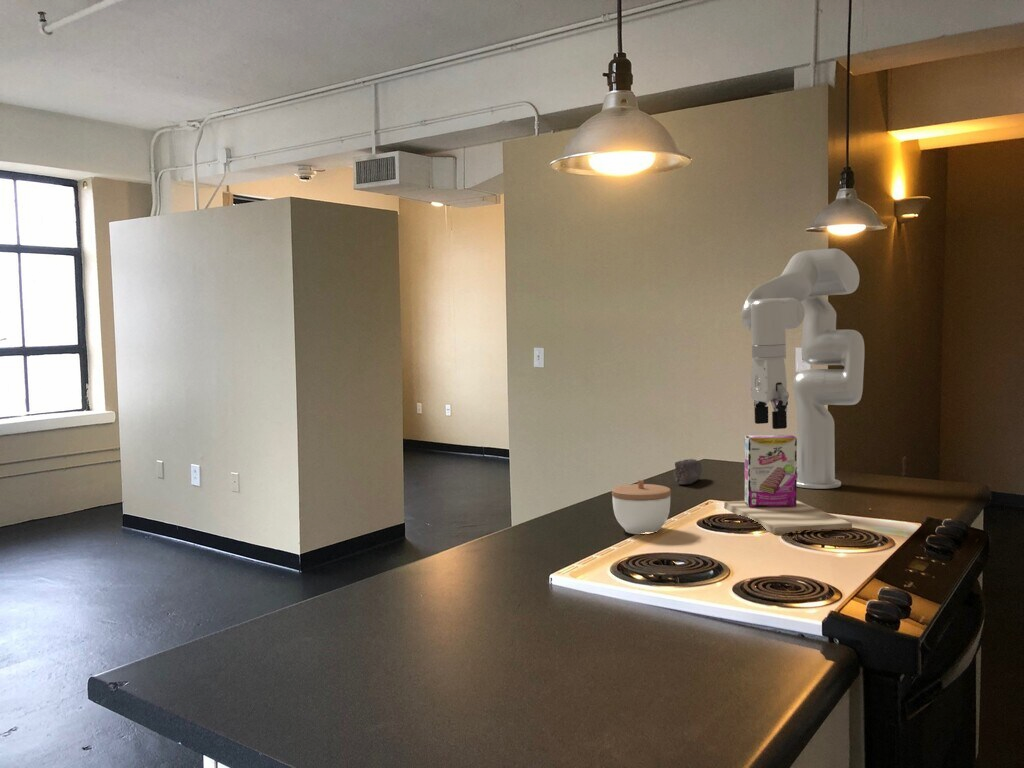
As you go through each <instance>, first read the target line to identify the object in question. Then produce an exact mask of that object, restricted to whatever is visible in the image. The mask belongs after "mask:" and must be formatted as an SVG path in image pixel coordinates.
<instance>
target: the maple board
mask: <svg viewBox="0 0 1024 768" xmlns="http://www.w3.org/2000/svg"><path fill="white" fill-rule="evenodd" d="M723 503H724V504H723V505H724V507H723V508H724V509H725V510H727V511H730V512H731V513H733V514H735V515H736V516H739V515H741V516H745V517H748V518H750V519H752V520H754V521H756V522H758V523H759V524H761V525H762V526H763V527H764V528H765V529H766V530H765V529H764V530H765V531H767V532H768V533H771V534H772V535H778V536H779V535H786V534H785V533H789V532H793V531H800V530H810V529H811V530H821V529H840V528H852V529H853V523H852V522H850V521H848V520H845V519H843V518H841V517H838V516H835V515H833V514H830V513H828V512H826V511H823V510H821V509H819V508H817V507H814V506H811V505H808V504H806V503H804V502H802V501H799V500H797V499H796V506H794V507H748V506H747V504H745V500H733V501H732V500H731V501H724V502H723Z"/></svg>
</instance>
